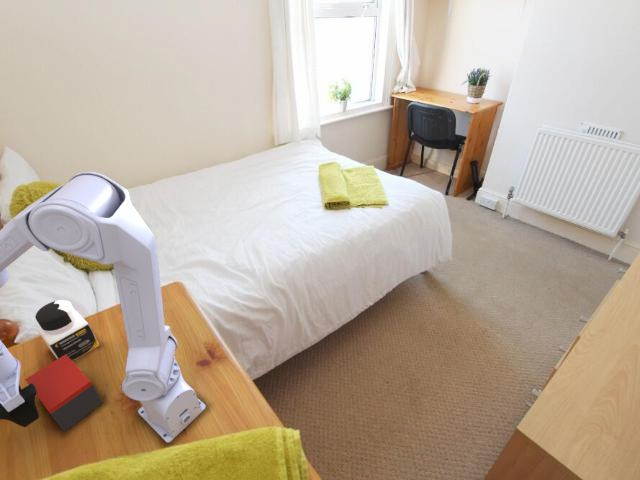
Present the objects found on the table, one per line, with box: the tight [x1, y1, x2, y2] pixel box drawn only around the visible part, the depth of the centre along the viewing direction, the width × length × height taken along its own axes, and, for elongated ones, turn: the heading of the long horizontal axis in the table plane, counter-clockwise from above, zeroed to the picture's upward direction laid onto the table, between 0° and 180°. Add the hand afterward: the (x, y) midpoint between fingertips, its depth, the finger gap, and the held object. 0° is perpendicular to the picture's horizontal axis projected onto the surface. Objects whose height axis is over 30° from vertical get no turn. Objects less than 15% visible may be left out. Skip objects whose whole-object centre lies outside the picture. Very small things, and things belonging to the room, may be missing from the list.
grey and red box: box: [24, 354, 104, 433], centre depth 61 cm, size 10×7×7 cm, turn 54°
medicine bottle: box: [35, 299, 100, 363], centre depth 70 cm, size 7×7×12 cm
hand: (22, 408), depth 56 cm, fingers open, 7 cm apart
